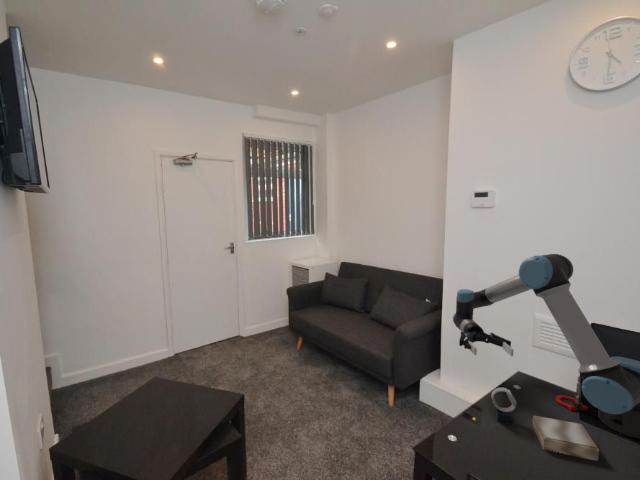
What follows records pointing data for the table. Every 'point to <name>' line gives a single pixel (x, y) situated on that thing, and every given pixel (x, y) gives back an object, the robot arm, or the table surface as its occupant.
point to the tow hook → (573, 399)
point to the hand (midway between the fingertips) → (493, 352)
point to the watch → (503, 411)
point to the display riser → (565, 438)
